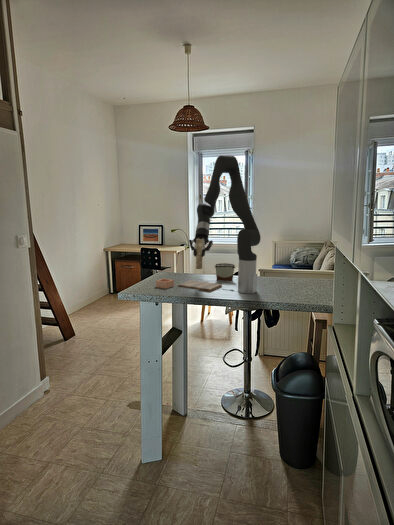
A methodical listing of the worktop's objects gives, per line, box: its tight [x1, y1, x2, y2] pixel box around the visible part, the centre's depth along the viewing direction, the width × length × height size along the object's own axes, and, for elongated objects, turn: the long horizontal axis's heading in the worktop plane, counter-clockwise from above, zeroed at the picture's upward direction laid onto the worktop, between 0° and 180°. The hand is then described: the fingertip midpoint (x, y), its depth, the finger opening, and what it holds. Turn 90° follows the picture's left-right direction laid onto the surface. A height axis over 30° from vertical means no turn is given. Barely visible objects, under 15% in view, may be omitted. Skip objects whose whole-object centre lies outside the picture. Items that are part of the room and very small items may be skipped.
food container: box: [214, 262, 236, 282], centre depth 214 cm, size 12×6×10 cm, turn 84°
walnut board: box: [177, 279, 223, 293], centre depth 196 cm, size 20×14×2 cm
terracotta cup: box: [155, 278, 175, 289], centre depth 194 cm, size 7×7×4 cm
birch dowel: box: [195, 239, 204, 270], centre depth 193 cm, size 4×4×16 cm
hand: (198, 255), depth 191 cm, fingers closed on birch dowel, 3 cm apart
